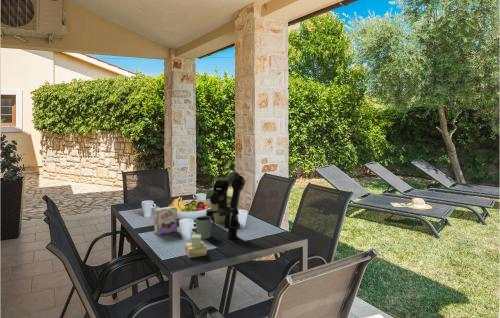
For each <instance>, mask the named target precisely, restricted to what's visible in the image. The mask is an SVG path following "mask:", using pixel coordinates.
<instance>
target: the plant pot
mask: <svg viewBox="0 0 500 318" xmlns="http://www.w3.org/2000/svg"><path fill="white" fill-rule="evenodd" d="M209 204H210V205H209V207H210V209H213V211H217V204H212V203H211V201H210V200H209ZM230 205H231V199H229V198H227V207H230ZM224 220H225V216H219V214H214V221H215V224H216V223H217V224H222V223H223V224H224Z"/></svg>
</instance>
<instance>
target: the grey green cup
mask: <svg viewBox="0 0 500 318" xmlns="http://www.w3.org/2000/svg"><path fill="white" fill-rule="evenodd" d="M195 226H196V235H201V240H202V239H204V240H205V239H209V238H211V235H212V233H211V232H212V230H211V229H212V219H211V218H210V217H209V216H207V215H206V216H204V215H203V216H197V217H195Z"/></svg>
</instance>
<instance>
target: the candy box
mask: <svg viewBox="0 0 500 318" xmlns="http://www.w3.org/2000/svg"><path fill="white" fill-rule="evenodd" d="M177 209H178V208H177V207H176V206H174V205H172V206H166V207H160V208H159V207H158V208H153V212H154V213H153V215H154V216H153V217H154V218H153V219H154V220H153V221H154V223H153V224H154V228H153V229H154V231H153V232H154V234H156V236H160V235H165V234H166V235H167V234H170V233H175V232H178V210H177Z"/></svg>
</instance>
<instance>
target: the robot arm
mask: <svg viewBox="0 0 500 318" xmlns="http://www.w3.org/2000/svg"><path fill="white" fill-rule="evenodd" d="M230 184H231V188H232V194H231V199H230V205H229V207H227V199H228V191H229V187H230ZM245 185H246V179H245V178H244V176H242V175H241V174H240V173H239V172H237V171H236V172H235V171H232V172H230V173H229V174H228V175H227V176H225V177H222V178H217V179H216V180H215V183H214V185H213V189H212V194H211V196H210V197H209V202H210V201H211V203H212V204H217V211H213V209H211V208H210V209H209V208H207V209H206V210H205V214H206V216H207V217H210V218H211V222H212V224H213V227H215V228H216V222H215V221H214V214H219V216H225V220H224V222H223V224H224V228H225V229H227V235H226V236H227V239H228V240H234V239H235V240H236V239H239V236H238V230H240V228H241V223H240V221H239V217H238V215H240V213H239V209H238V207H239V201H240V195H241V191H242V190H243V189H244V188H245Z"/></svg>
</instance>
